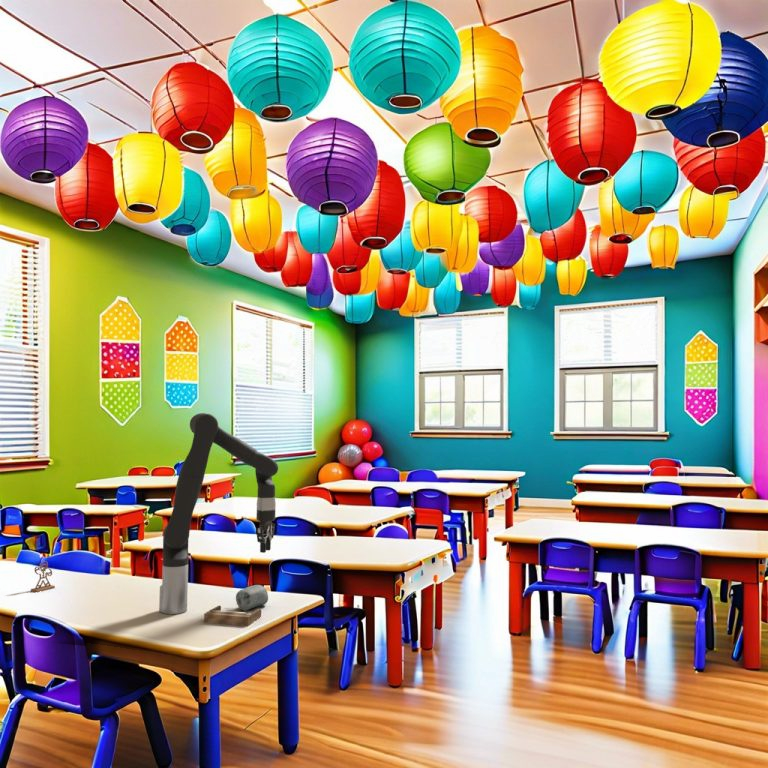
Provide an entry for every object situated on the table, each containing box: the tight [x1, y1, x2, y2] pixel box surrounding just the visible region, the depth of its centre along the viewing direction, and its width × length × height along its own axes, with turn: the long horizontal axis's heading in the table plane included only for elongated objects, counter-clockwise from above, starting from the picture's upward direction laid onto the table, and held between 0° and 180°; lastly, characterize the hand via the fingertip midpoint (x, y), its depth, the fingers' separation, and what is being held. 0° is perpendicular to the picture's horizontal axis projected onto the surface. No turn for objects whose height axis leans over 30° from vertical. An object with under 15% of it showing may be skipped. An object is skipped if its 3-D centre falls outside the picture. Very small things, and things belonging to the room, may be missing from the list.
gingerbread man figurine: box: [30, 560, 56, 593], centre depth 287 cm, size 9×4×12 cm, turn 154°
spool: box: [235, 584, 269, 612], centre depth 262 cm, size 14×10×10 cm
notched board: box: [203, 605, 262, 627], centre depth 246 cm, size 17×11×4 cm, turn 77°
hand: (265, 551), depth 274 cm, fingers open, 4 cm apart
